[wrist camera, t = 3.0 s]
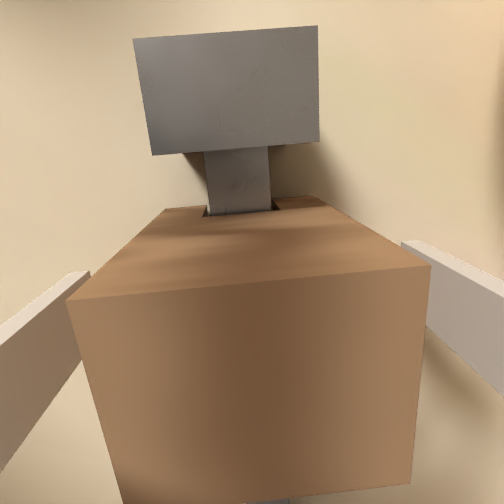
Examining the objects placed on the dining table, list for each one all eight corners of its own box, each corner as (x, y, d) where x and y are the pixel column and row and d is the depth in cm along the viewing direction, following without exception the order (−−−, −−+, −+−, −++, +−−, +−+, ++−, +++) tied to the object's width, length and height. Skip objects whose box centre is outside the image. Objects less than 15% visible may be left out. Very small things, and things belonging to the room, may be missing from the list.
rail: (234, 528, 23) (235, 651, 18) (171, 82, 14) (132, 38, 9) (303, 520, 23) (326, 639, 18) (283, 73, 14) (317, 25, 9)
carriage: (183, 318, 17) (127, 517, 8) (165, 208, 16) (65, 300, 6) (315, 305, 18) (409, 483, 8) (312, 195, 16) (431, 265, 6)
